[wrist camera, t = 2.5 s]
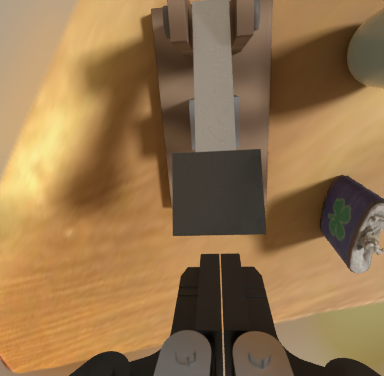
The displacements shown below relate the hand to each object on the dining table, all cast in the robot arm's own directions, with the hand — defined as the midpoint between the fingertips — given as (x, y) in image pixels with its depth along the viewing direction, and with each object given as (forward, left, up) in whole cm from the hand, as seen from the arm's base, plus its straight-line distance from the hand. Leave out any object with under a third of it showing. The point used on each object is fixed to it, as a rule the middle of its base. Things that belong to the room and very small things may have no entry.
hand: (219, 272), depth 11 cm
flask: (+10, +16, -27) cm, 32 cm away
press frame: (-3, 0, -26) cm, 27 cm away
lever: (-5, 0, -14) cm, 15 cm away
